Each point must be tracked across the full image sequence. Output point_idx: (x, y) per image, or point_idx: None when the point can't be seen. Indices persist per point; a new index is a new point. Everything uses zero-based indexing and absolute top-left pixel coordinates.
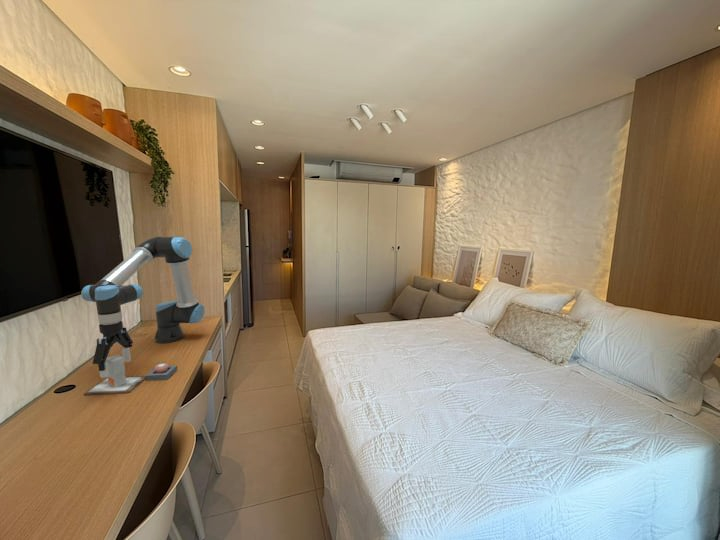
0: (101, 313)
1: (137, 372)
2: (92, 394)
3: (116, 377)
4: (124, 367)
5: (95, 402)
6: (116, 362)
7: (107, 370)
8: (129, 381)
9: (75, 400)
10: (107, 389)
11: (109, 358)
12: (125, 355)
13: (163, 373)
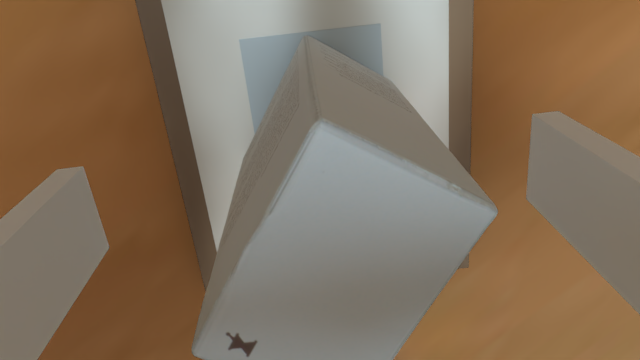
0: None
1: (46, 117)
2: None
3: (395, 95)
4: (310, 71)
5: (592, 84)
6: (431, 160)
7: (600, 147)
8: (265, 29)
9: (529, 258)
10: None
11: (359, 353)
12: (53, 270)
13: None
